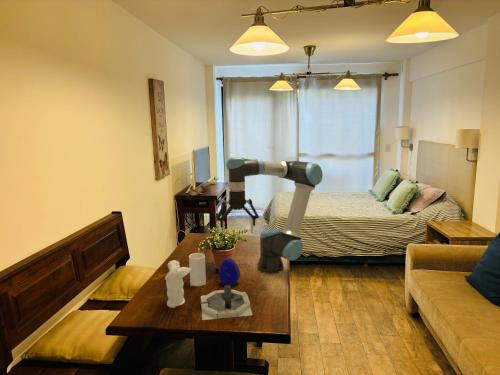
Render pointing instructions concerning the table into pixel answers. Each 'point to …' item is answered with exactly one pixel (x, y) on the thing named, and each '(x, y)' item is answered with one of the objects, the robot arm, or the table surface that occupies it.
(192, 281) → the cup
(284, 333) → the table surface
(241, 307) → the grey octagonal tray
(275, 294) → the table surface
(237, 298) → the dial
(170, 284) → the cherub figurine
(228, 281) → the ornament
